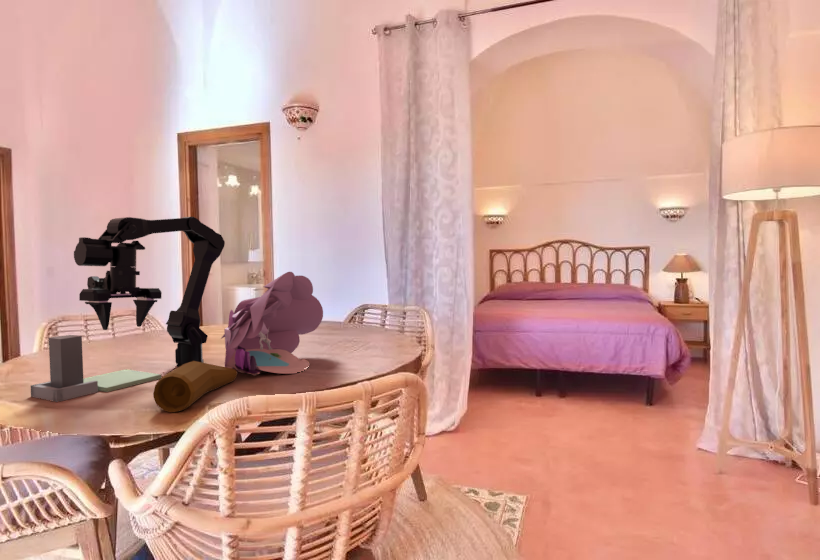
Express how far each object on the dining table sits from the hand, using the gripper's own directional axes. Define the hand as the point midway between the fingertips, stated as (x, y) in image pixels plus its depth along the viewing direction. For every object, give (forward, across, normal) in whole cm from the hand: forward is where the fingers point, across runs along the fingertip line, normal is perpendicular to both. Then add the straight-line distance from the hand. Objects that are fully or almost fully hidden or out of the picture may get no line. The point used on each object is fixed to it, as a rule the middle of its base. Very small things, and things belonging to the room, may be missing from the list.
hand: (122, 328), depth 124 cm
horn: (+13, +4, +31) cm, 34 cm away
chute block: (+14, +14, +1) cm, 20 cm away
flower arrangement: (+12, -24, +29) cm, 39 cm away
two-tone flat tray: (+13, +7, +1) cm, 15 cm away
